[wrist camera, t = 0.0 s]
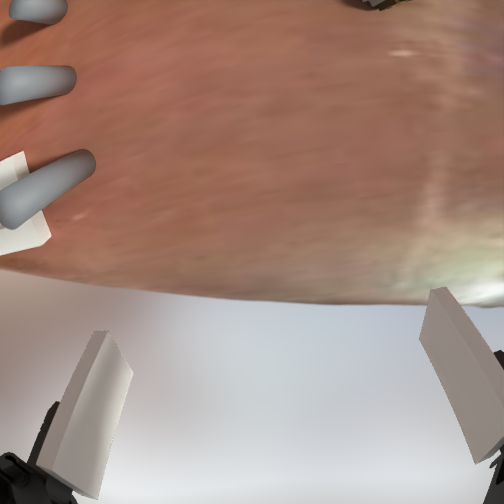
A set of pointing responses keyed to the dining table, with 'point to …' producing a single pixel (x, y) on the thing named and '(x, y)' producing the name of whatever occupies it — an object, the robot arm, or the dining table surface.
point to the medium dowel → (35, 82)
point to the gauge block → (33, 228)
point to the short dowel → (38, 10)
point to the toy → (385, 3)
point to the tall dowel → (43, 187)
